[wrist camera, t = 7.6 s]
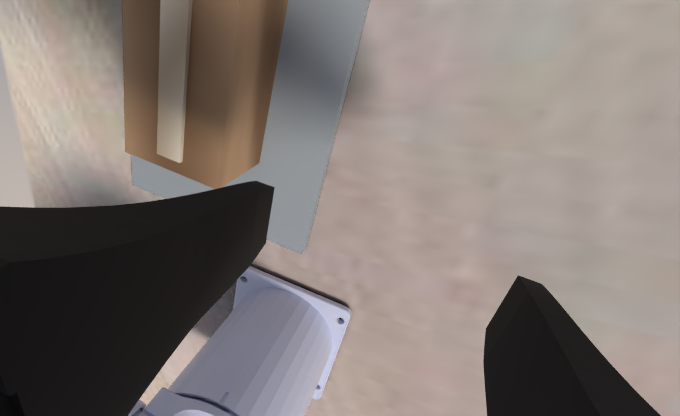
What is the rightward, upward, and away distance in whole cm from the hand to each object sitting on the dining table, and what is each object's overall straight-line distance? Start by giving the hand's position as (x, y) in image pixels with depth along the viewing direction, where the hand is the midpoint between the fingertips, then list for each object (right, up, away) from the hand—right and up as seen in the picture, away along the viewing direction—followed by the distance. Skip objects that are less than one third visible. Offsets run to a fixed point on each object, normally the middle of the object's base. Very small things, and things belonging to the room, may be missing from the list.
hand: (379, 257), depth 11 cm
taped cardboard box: (-7, +9, +8) cm, 13 cm away
